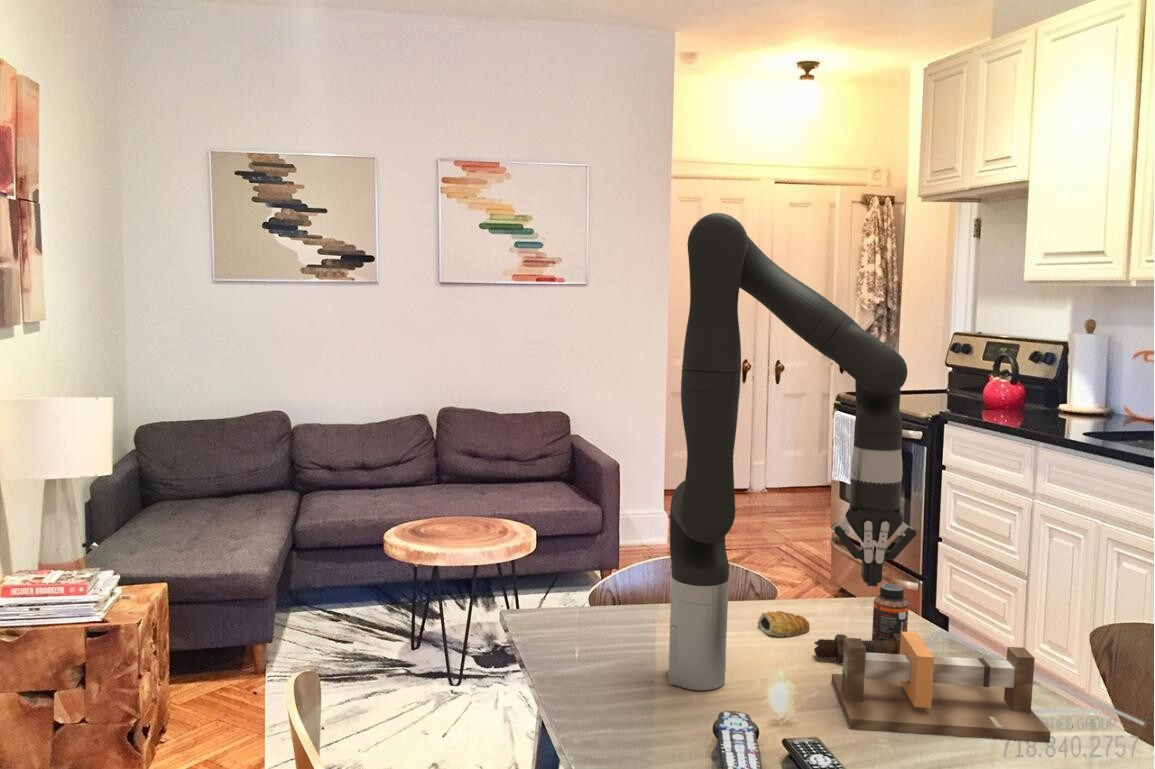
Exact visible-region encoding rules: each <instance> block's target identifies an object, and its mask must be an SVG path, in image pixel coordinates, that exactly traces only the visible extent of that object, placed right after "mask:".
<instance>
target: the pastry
mask: <svg viewBox="0 0 1155 769" xmlns="http://www.w3.org/2000/svg"><path fill="white" fill-rule="evenodd" d="M757 625H758V626H759V629H760V631H761V632H764V633H765V634H767V635H768V636H770V637H773V638H774V637H775V638H783V637H784V636H785V637H788V638H790V637H792V638H793V637H794V636H795V637H796V636H799V635H804V634H806V633H807V632H809V630H810V622H809V621H808V620H807V618H805V617H804V616H802V615H798V614H797V615H795V614H793V613H792V612H791V613H790V612H785V611H782V610H776V611H767V612H762V613H761V615H760V616H759V617H758V620H757Z"/></svg>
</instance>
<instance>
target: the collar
mask: <svg viewBox="0 0 1155 769" xmlns="http://www.w3.org/2000/svg"><path fill="white" fill-rule="evenodd" d="M900 654H902V655H908V657H909V658H910V660H911V676H910V681H900V683H901V684H902V686H903V688H904V690H905V691H906V693H907V695H908V696H909V698H910V700H911V702H912V703H913V705H914V707H924V708H931V704H932V688H933V671H934V654H933V653H932V652H931V650H930V649H929V648H928V646H927V645H926V644H925V642H924V641H923V639H922V638H921V637H920V635H919V634H918V632H917V631H907V632H902V631H901V638H900Z"/></svg>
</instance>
